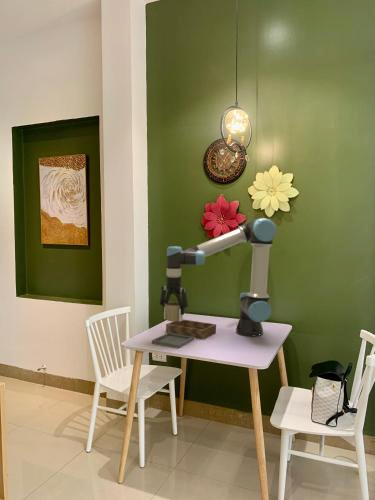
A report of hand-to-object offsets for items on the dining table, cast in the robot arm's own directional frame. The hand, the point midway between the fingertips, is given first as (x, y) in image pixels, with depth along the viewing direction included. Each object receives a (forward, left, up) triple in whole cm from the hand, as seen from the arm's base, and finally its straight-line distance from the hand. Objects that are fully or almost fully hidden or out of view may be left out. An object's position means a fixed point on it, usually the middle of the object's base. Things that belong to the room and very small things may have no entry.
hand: (173, 319), depth 201 cm
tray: (0, 0, -12) cm, 12 cm away
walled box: (0, -19, -12) cm, 22 cm away
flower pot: (0, 0, -1) cm, 1 cm away
